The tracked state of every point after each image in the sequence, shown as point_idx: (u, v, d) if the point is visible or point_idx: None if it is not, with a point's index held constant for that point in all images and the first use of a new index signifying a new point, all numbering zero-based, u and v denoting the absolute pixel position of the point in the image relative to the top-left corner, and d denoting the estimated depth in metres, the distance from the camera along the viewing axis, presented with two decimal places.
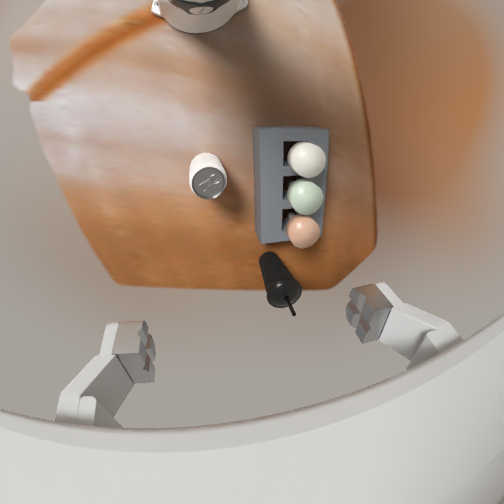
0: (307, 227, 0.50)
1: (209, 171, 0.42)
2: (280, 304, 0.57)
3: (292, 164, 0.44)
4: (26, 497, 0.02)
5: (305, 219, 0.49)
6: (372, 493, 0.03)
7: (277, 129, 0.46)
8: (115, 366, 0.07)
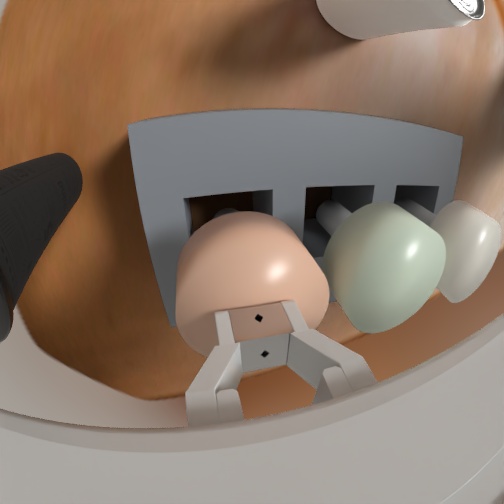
0: None
1: None
2: None
3: (479, 217, 0.11)
4: (26, 497, 0.02)
5: (327, 299, 0.11)
6: (371, 494, 0.03)
7: (456, 174, 0.17)
8: (237, 355, 0.08)
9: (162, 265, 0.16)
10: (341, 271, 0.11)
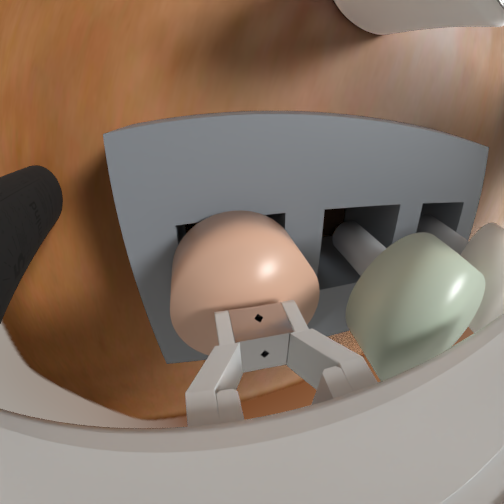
0: None
1: None
2: None
3: None
4: (26, 497, 0.02)
5: (318, 295, 0.11)
6: (371, 494, 0.03)
7: (480, 188, 0.14)
8: (237, 355, 0.08)
9: (153, 301, 0.13)
10: (373, 323, 0.09)
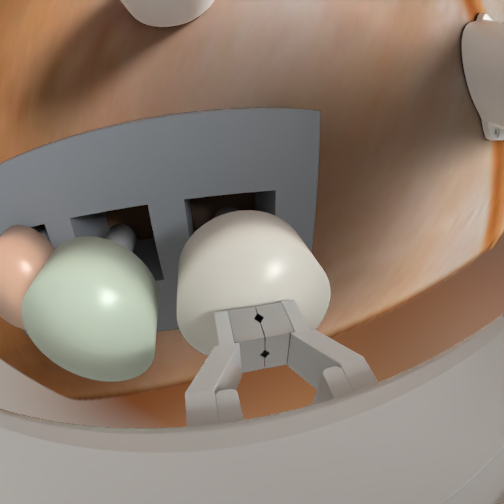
0: None
1: None
2: None
3: (232, 241, 0.09)
4: (26, 497, 0.02)
5: None
6: (371, 494, 0.03)
7: (314, 168, 0.14)
8: (236, 355, 0.08)
9: None
10: None
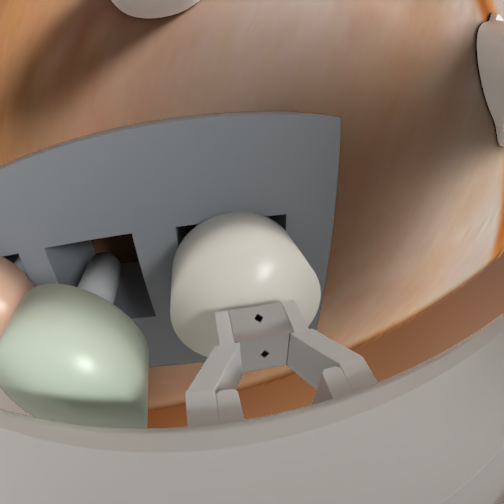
0: None
1: None
2: None
3: (222, 242, 0.09)
4: (26, 497, 0.02)
5: None
6: (371, 494, 0.03)
7: (332, 187, 0.12)
8: (237, 355, 0.08)
9: None
10: None
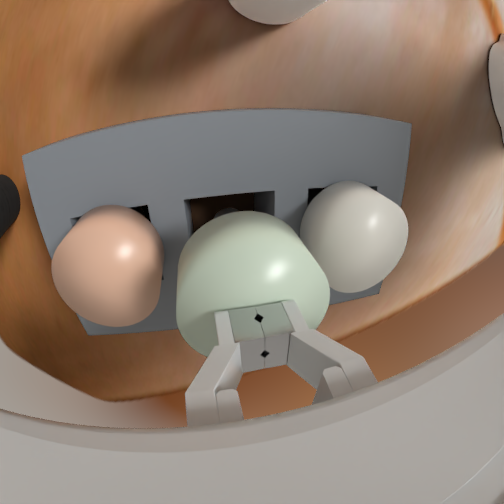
0: (129, 286, 0.12)
1: None
2: None
3: (360, 196, 0.13)
4: (26, 497, 0.02)
5: (158, 275, 0.12)
6: (372, 493, 0.03)
7: (404, 170, 0.16)
8: (237, 355, 0.08)
9: None
10: None
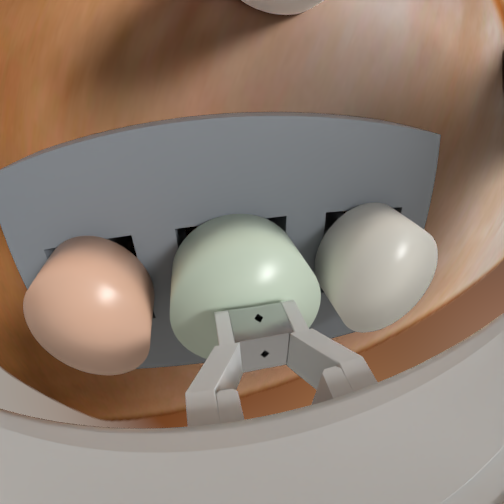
0: (113, 337, 0.10)
1: None
2: None
3: (390, 225, 0.10)
4: (26, 497, 0.02)
5: (146, 326, 0.10)
6: (371, 494, 0.03)
7: (430, 188, 0.13)
8: (237, 355, 0.08)
9: None
10: None
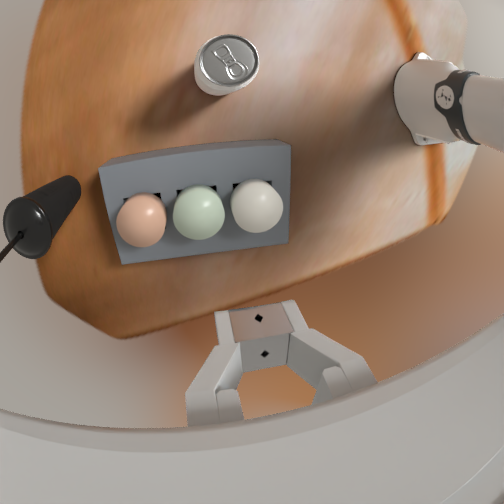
0: (152, 225, 0.30)
1: (248, 62, 0.21)
2: (8, 227, 0.20)
3: (251, 185, 0.31)
4: (26, 497, 0.02)
5: (164, 220, 0.30)
6: (372, 494, 0.03)
7: (288, 170, 0.33)
8: (237, 355, 0.08)
9: (116, 229, 0.32)
10: None
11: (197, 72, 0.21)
